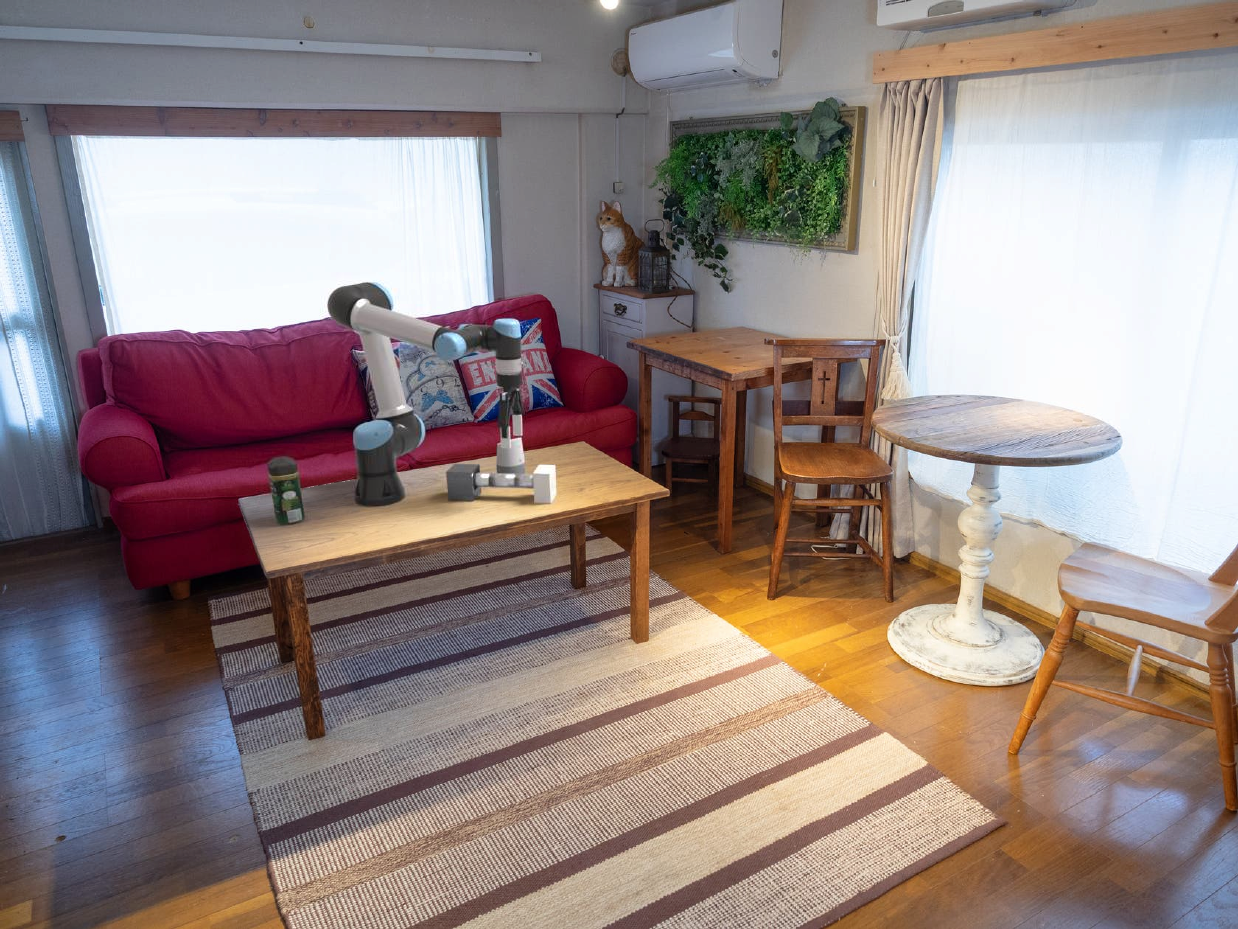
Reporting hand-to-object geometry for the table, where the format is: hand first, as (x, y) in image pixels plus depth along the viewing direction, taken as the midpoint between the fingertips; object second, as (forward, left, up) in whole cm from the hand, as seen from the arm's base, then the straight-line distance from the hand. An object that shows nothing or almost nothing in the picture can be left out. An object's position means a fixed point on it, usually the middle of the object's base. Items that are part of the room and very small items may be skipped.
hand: (512, 441), depth 259 cm
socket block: (+10, -1, -18) cm, 20 cm away
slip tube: (-2, -1, -14) cm, 15 cm away
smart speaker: (-6, +17, -18) cm, 25 cm away
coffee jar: (-61, -25, -18) cm, 68 cm away
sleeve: (-16, -1, -18) cm, 24 cm away
